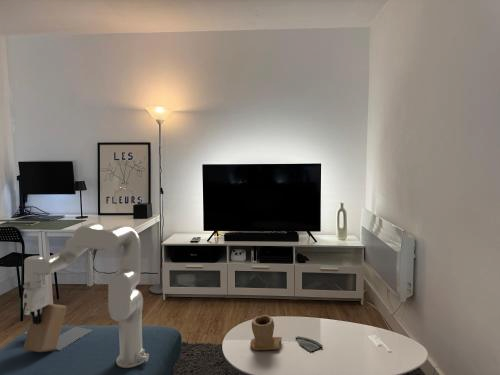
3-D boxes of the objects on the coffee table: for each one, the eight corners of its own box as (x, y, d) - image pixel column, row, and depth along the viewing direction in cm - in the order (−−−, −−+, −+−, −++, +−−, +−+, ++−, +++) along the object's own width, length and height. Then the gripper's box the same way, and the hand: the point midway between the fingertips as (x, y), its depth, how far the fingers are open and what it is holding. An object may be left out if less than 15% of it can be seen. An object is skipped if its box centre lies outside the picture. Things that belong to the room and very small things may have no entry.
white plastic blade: (380, 353, 155) (381, 351, 155) (366, 337, 170) (366, 335, 170) (391, 352, 156) (391, 350, 156) (376, 336, 171) (376, 334, 171)
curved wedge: (305, 336, 171) (305, 333, 171) (323, 349, 160) (323, 345, 159) (291, 341, 167) (291, 337, 167) (309, 354, 155) (309, 350, 155)
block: (40, 352, 150) (53, 304, 156) (21, 349, 152) (35, 303, 159) (56, 350, 159) (68, 305, 166) (39, 348, 161) (51, 303, 168)
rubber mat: (93, 330, 178) (93, 330, 178) (59, 351, 158) (59, 349, 158) (75, 327, 182) (75, 326, 182) (40, 346, 162) (40, 345, 162)
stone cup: (250, 354, 154) (249, 322, 154) (250, 341, 166) (250, 311, 165) (283, 354, 154) (283, 322, 153) (281, 341, 166) (281, 311, 165)
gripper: (25, 290, 144) (27, 332, 146) (55, 279, 159) (57, 317, 160) (12, 288, 147) (14, 329, 148) (43, 277, 161) (45, 315, 162)
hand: (36, 323), depth 154 cm, fingers closed
